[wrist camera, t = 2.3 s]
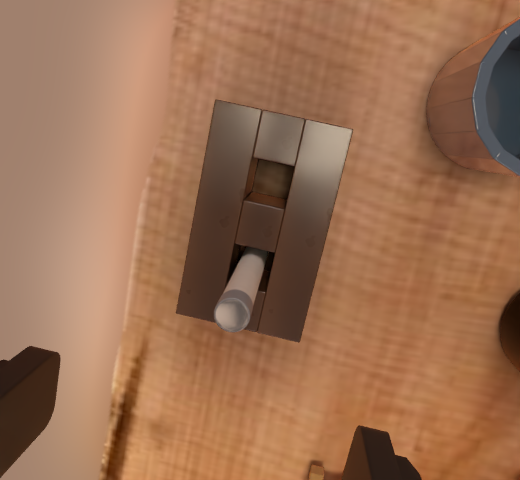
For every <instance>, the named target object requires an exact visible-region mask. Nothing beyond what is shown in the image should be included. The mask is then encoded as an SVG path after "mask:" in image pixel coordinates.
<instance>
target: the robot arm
mask: <svg viewBox="0 0 520 480" xmlns="http://www.w3.org/2000/svg"><path fill="white" fill-rule="evenodd" d="M59 368H60V355H59V353H57V352H53V351H49V350H45V349H41V348H37V347H33V346H29V347H27V348H26V349H25V350H23V351H22V352H20V353H19V354H18V355H16V356H15V357H13V358H12V359H11V360H9V361H7V360H1V361H0V478H1V476H2V475H3V474H4V473H5V472H6V471H7V470H8V469H9V468H10V467H11V465H12V464H13V463H14V462H15V461H16V460H17V459H18V458H19V457H20V456H21V454H22V453H23V452H24V451H25V450H26V449H27V448H28V447H29V446H30V444H31V443H32V442H33V441H34V440H35V439H36V438H37V437H38V436H39V435H40V433H41V432H42V431H43V430H44V429H45V427H46V426H47V424H48V423H49V420H50V419H51V416H52V413H53V411H54V406H55V400H56V392H57V383H58V375H59ZM342 480H421V477H420V474H419V473H418V471H417V470H416V469H415V468H414V467H413V465H412V464H411V463H410V462H409V460H408V459H407V458H406V457H401V456H397V455H395V453H394V450H393V446H392V443H391V440H390V436H389V434H388V432H385V431H381V430H376V429H372V428H368V427H364V426H358V427H357V428H356V431H355V434H354V437H353V441H352V444H351V448H350V451H349V455H348V458H347V462H346V465H345V469H344V472H343V476H342Z"/></svg>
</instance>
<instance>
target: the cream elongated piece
mask: <svg viewBox="0 0 520 480" xmlns="http://www.w3.org/2000/svg"><path fill="white" fill-rule="evenodd" d="M323 477H324V467H320V466H316V465H311V468H310V473H309V480H323Z"/></svg>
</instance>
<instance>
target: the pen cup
mask: <svg viewBox="0 0 520 480" xmlns="http://www.w3.org/2000/svg"><path fill="white" fill-rule="evenodd" d="M426 114H427V123H428V127H429V131H430V134H431V136H432V138H433V140H434V142H435V144H436V145H437V147H438V148H439V149H440V151H441V152H442V153H443V154H444V155H445V156H446V157H448V158H449V159H450V160H452V161H453V162H455V163H457V164H459V165H461V166H463V167H465V168H468V169H474V170H480V171H486V172H492V173H498V174H504V175H510V176H516V177H520V17H519V18H517V19H515V20H513V21H512V22H510V23H508V24H506V25H505V26H503V27H501V28H499V29H498V30H496V31H494V32H492V33H490V34H489V35H487V36H485V37H483V38H482V39H480V40H478V41H476V42H475V43H473V44H471V45H470V46H468V47H467V48H466V49H464V50H463V51H461V52H459V53H458V54H457V55H455V56H454V57H453V58H451V59H450V60H449V61H448V62H447V63H446V64H445V66H444V67H443V68H442V69H441V71H440V72H439V73H438V75H437V77H436V78H435V80H434V82H433V85H432V87H431V89H430V93H429V96H428V101H427V113H426Z"/></svg>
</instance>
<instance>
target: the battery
mask: <svg viewBox="0 0 520 480" xmlns="http://www.w3.org/2000/svg"><path fill="white" fill-rule="evenodd" d="M500 336H501V343H502V347H503V349H504V352H505V354H506V356H507V357H508V359H509V360H510V361H511V363H512V364H513V365H514V366H515V367H516V368H517V369H518V370H519V371H520V294H519V295H518V296H517V297H516V298H515V299H514V300H513V301H512V302H511V304H510V305H509V307H508V308H507V310H506V312H505V314H504V317H503V320H502V323H501V331H500Z"/></svg>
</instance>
